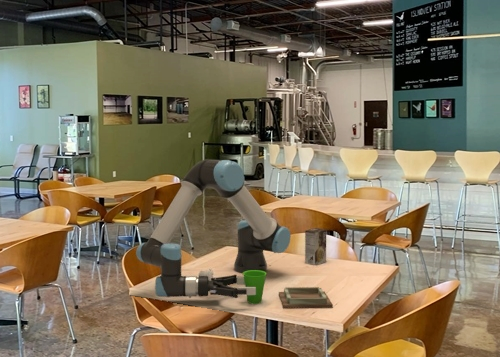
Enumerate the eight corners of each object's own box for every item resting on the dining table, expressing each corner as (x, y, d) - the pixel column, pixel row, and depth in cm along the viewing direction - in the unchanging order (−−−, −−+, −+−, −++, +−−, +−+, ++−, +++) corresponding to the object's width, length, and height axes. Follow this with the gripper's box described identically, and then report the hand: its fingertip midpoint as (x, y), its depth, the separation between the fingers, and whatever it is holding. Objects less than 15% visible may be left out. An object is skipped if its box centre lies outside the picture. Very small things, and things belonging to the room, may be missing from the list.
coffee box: (315, 260, 273) (316, 227, 271) (326, 262, 268) (327, 229, 267) (304, 263, 266) (304, 230, 265) (314, 265, 262) (315, 232, 260)
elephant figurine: (206, 287, 227) (205, 272, 226) (193, 283, 232) (193, 269, 231) (218, 283, 232) (218, 269, 231) (205, 280, 237) (205, 266, 236)
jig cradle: (278, 294, 216) (278, 286, 216) (324, 294, 217) (324, 286, 217) (283, 308, 200) (283, 299, 200) (332, 307, 201) (332, 299, 201)
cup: (249, 307, 202) (249, 277, 201) (238, 300, 210) (238, 271, 209) (270, 303, 206) (271, 274, 205) (259, 296, 214) (259, 268, 213)
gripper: (199, 286, 219) (252, 285, 220) (196, 306, 194) (256, 306, 195) (199, 267, 218) (252, 267, 219) (195, 286, 193) (256, 285, 194)
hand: (254, 285), depth 207 cm, fingers open, 13 cm apart
